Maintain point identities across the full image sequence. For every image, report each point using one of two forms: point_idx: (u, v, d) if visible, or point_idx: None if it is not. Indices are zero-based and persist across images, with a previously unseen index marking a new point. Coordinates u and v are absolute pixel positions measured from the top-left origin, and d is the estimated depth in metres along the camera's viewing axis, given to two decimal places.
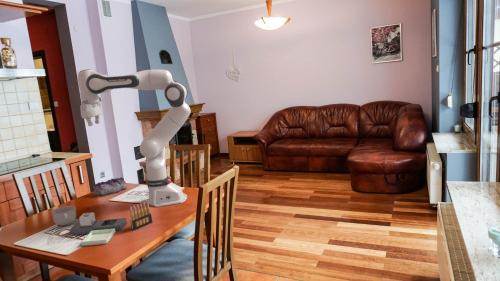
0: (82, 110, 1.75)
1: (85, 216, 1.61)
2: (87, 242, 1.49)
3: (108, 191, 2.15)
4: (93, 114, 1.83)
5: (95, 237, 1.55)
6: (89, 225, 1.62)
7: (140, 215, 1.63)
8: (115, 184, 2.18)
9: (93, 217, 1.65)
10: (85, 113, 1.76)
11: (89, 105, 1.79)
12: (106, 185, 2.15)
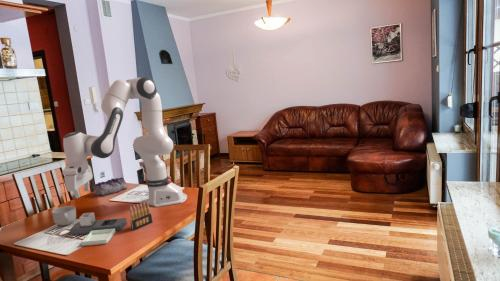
0: None
1: (85, 216, 1.61)
2: (87, 242, 1.49)
3: (108, 191, 2.15)
4: None
5: (95, 237, 1.55)
6: (89, 225, 1.62)
7: (140, 215, 1.63)
8: (115, 184, 2.18)
9: (93, 217, 1.65)
10: None
11: None
12: (106, 185, 2.15)
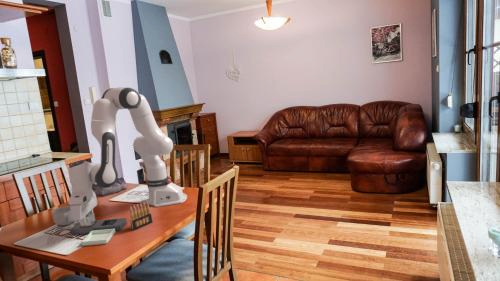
0: None
1: (85, 216, 1.61)
2: (87, 242, 1.49)
3: (109, 191, 2.15)
4: None
5: (95, 237, 1.55)
6: (89, 225, 1.62)
7: (140, 215, 1.63)
8: (115, 184, 2.18)
9: (93, 217, 1.65)
10: None
11: None
12: None
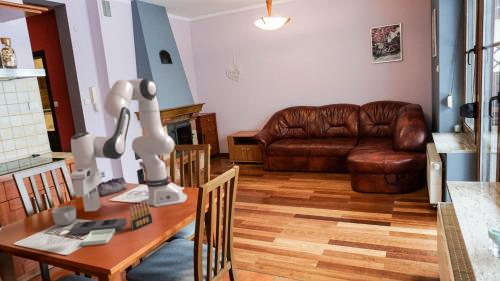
0: None
1: None
2: (87, 242, 1.49)
3: (109, 191, 2.15)
4: None
5: (95, 237, 1.55)
6: (93, 203, 1.49)
7: (140, 215, 1.63)
8: (116, 184, 2.18)
9: (97, 195, 1.52)
10: None
11: None
12: (107, 185, 2.15)
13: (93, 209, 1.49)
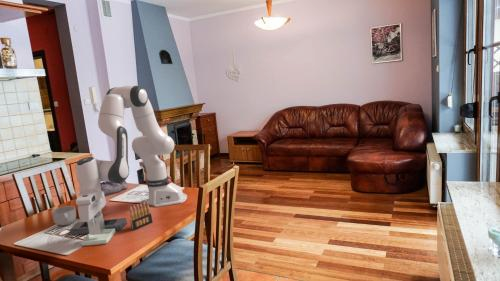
0: None
1: None
2: (87, 242, 1.49)
3: (109, 191, 2.15)
4: None
5: (95, 237, 1.55)
6: (97, 227, 1.50)
7: (140, 215, 1.63)
8: (116, 184, 2.18)
9: (101, 218, 1.54)
10: None
11: None
12: (107, 185, 2.14)
13: (98, 233, 1.51)
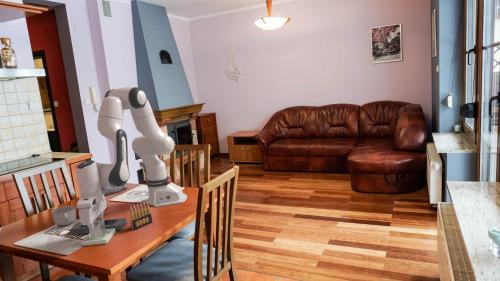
0: None
1: (95, 223, 1.51)
2: (87, 242, 1.49)
3: (109, 191, 2.15)
4: None
5: None
6: (99, 233, 1.51)
7: (140, 215, 1.63)
8: None
9: (103, 224, 1.54)
10: None
11: None
12: (107, 185, 2.14)
13: (99, 239, 1.52)
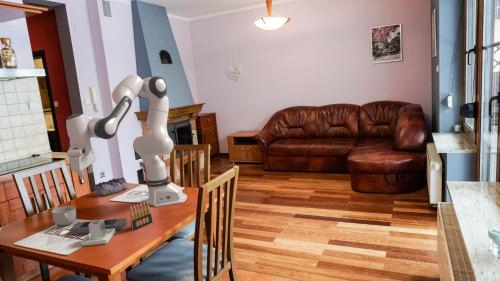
0: None
1: (95, 223, 1.51)
2: (87, 242, 1.49)
3: (109, 191, 2.14)
4: None
5: None
6: (99, 233, 1.51)
7: (140, 215, 1.63)
8: (116, 184, 2.18)
9: (103, 224, 1.54)
10: None
11: None
12: (107, 185, 2.14)
13: (99, 239, 1.52)
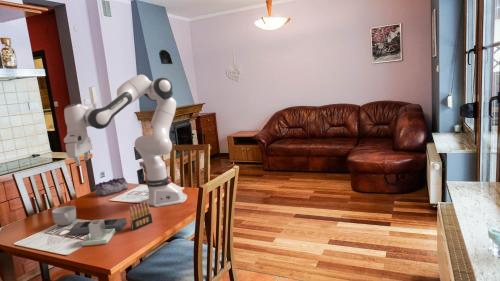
0: None
1: (95, 223, 1.51)
2: (87, 242, 1.49)
3: (110, 191, 2.14)
4: None
5: None
6: (99, 233, 1.51)
7: (140, 215, 1.63)
8: (116, 184, 2.18)
9: (103, 224, 1.54)
10: None
11: None
12: (108, 185, 2.14)
13: (99, 239, 1.52)
